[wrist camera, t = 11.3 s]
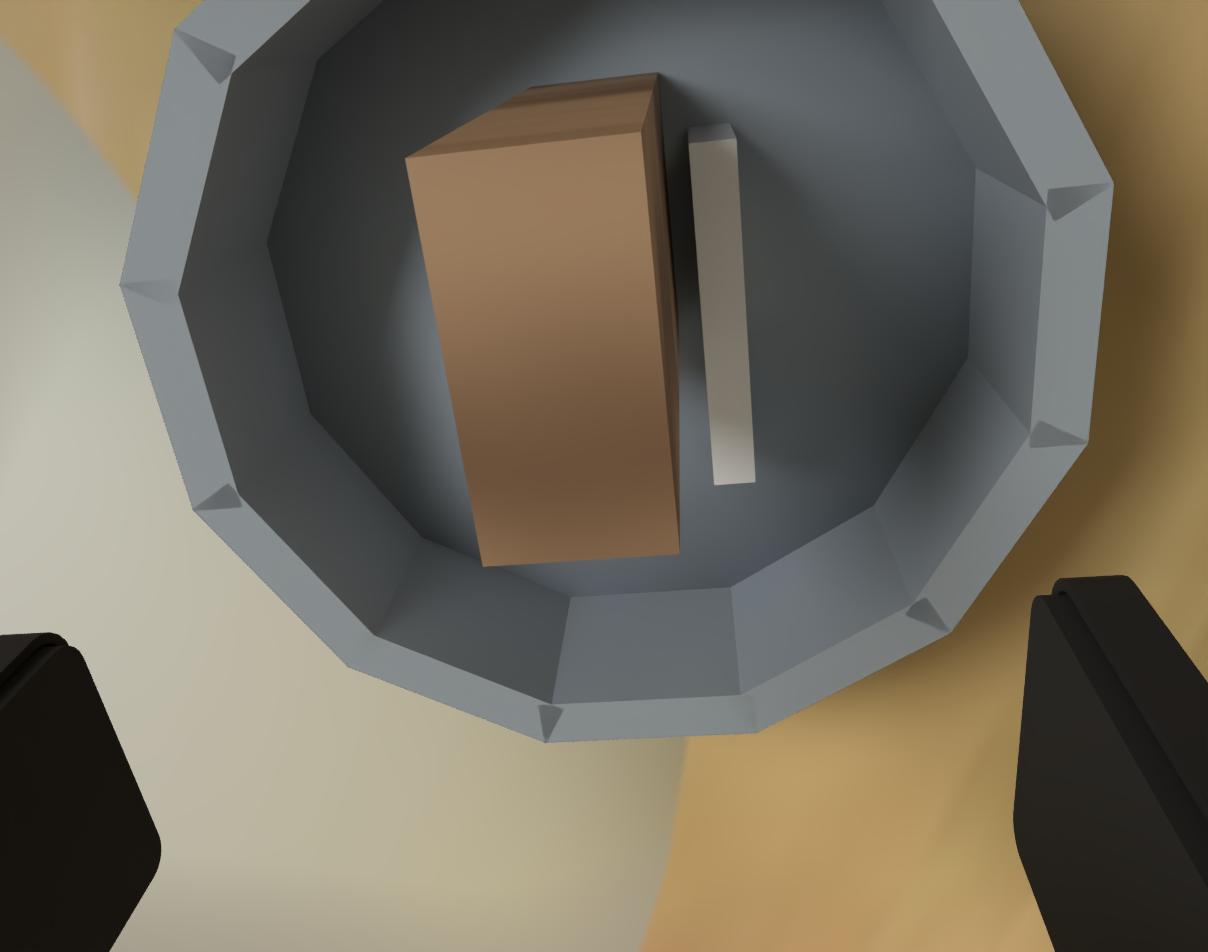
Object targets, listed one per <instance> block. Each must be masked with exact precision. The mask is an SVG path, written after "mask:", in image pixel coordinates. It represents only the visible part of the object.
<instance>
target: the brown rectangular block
mask: <svg viewBox="0 0 1208 952" xmlns="http://www.w3.org/2000/svg"><path fill="white" fill-rule="evenodd" d="M405 161H406V166H407V172H408V177H409V182H410V187H411V193H412V198H413V203H414V208H415V214H416V219H417V224H418V229H419V235H420V240H421V245H422V250H423V256H424V261H425V266H426V271H427V277H428V282H429V287H430V292H431V298H432V303H433V308H434V313H435V319H436V324H437V329H438V334H439V340H440V345H441V350H442V355H443V361H444V366H445V371H446V376H447V382H448V387H449V392H450V397H451V403H452V408H453V413H454V418H455V424H456V429H457V434H458V439H459V445H460V450H461V455H462V460H463V466H464V471H465V476H466V481H467V487H468V492H469V497H470V502H471V508H472V513H473V518H474V523H475V529H476V534H477V539H478V544H479V550H480V555H481V560H482V565H483V567H489V566H504V565H519V564H535V563H550V562H565V561H581V560H596V559H612V558H627V557H642V556H658V555H673V554H680V442H679V317H678V305H677V293H676V281H675V269H674V257H673V245H672V233H671V221H670V209H669V197H668V185H667V173H666V161H665V150H664V138H663V126H662V114H661V102H660V90H659V78H658V72H653V73H644V74H636V75H628V76H619V77H611V78H602V79H594V80H585V81H577V82H568V83H560V84H551V85H543V86H534V87H530V88H528V89H526V90H525V91H523V92H521V93H519V94H518V95H516V96H514V97H512V98H511V99H509V100H507V101H505V102H503V103H502V104H500V105H498V106H496V107H495V108H493V109H491V110H489V111H488V112H486V113H484V114H482V115H481V116H479V117H477V118H475V119H473V120H472V121H470V122H468V123H466V124H465V125H463V126H461V127H459V128H458V129H456V130H454V131H452V132H451V133H449V134H447V135H445V136H443V137H442V138H440V139H438V140H436V141H435V142H433V143H431V144H429V145H428V146H426V147H424V148H422V149H421V150H419V151H417V152H415V153H414V154H412V155H410V156H408V157H406V158H405Z"/></svg>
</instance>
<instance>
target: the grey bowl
mask: <svg viewBox="0 0 1208 952" xmlns="http://www.w3.org/2000/svg"><path fill="white" fill-rule="evenodd" d="M653 72H658V78H659V90H660V102H661V114H662V126H663V138H664V150H665V161H666V173H667V185H668V197H669V209H670V221H671V233H672V245H673V257H674V269H675V281H676V293H677V305H678V317H679V442H680V554H673V555H658V556H642V557H627V558H612V559H596V560H581V561H565V562H550V563H535V564H519V565H504V566H489V567H483V565H482V560H481V555H480V550H479V544H478V539H477V534H476V529H475V523H474V518H473V513H472V508H471V502H470V497H469V492H468V487H467V481H466V476H465V471H464V466H463V460H462V455H461V450H460V445H459V439H458V434H457V429H456V424H455V418H454V413H453V408H452V403H451V397H450V392H449V387H448V382H447V376H446V371H445V366H444V361H443V355H442V350H441V345H440V340H439V334H438V329H437V324H436V319H435V313H434V308H433V303H432V298H431V292H430V287H429V282H428V277H427V271H426V266H425V261H424V256H423V250H422V245H421V240H420V235H419V229H418V224H417V219H416V214H415V208H414V203H413V198H412V193H411V187H410V182H409V177H408V172H407V166H406V161H405V158H406V157H408V156H410V155H412V154H414V153H415V152H417V151H419V150H421V149H422V148H424V147H426V146H428V145H429V144H431V143H433V142H435V141H436V140H438V139H440V138H442V137H443V136H445V135H447V134H449V133H451V132H452V131H454V130H456V129H458V128H459V127H461V126H463V125H465V124H466V123H468V122H470V121H472V120H473V119H475V118H477V117H479V116H481V115H482V114H484V113H486V112H488V111H489V110H491V109H493V108H495V107H496V106H498V105H500V104H502V103H503V102H505V101H507V100H509V99H511V98H512V97H514V96H516V95H518V94H519V93H521V92H523V91H525V90H526V89H528V88H530V87H534V86H543V85H551V84H560V83H568V82H577V81H585V80H594V79H602V78H611V77H619V76H628V75H636V74H644V73H653ZM1113 189H1114V182H1113V180H1112V178H1111V177H1110V175H1109V173H1108V171H1107V169H1106V167H1105V165H1104V163H1103V161H1102V159H1101V157H1100V155H1099V154H1098V152H1097V150H1096V148H1095V146H1094V144H1093V142H1092V140H1091V138H1090V136H1089V134H1088V132H1087V131H1086V129H1085V127H1084V125H1083V123H1082V121H1081V119H1080V117H1079V115H1078V113H1077V111H1076V109H1075V108H1074V106H1073V104H1072V102H1071V100H1070V98H1069V96H1068V94H1067V92H1066V90H1065V88H1064V86H1063V85H1062V83H1061V81H1060V79H1059V77H1058V75H1057V73H1056V71H1055V69H1054V67H1053V65H1052V64H1051V62H1050V60H1049V58H1048V56H1047V54H1046V52H1045V50H1044V48H1043V46H1042V44H1041V42H1040V41H1039V39H1038V37H1037V35H1036V33H1035V31H1034V29H1033V27H1032V25H1031V23H1030V21H1029V19H1028V18H1027V16H1026V14H1025V12H1024V10H1023V8H1022V6H1021V4H1020V2H1019V0H204V1H203V2H202V3H201V4H200V5H199V6H198V7H197V8H196V9H195V10H194V11H192V12H191V13H190V14H189V15H188V16H187V17H186V18H185V19H184V20H183V21H182V22H181V23H180V24H179V25H178V26H177V27H176V28H175V29H174V34H173V38H172V43H171V48H170V52H169V57H168V62H167V66H166V71H165V76H164V80H163V85H162V90H161V94H160V99H159V104H158V108H157V113H156V118H155V122H154V127H153V132H152V136H151V141H150V146H149V150H148V155H147V160H146V164H145V169H144V174H143V178H142V183H141V188H140V192H139V197H138V202H137V206H136V211H135V216H134V220H133V225H132V230H131V234H130V239H129V244H128V249H127V253H126V258H125V263H124V267H123V272H122V276H121V281H120V287H121V291H122V293H123V297H124V300H125V302H126V306H127V309H128V312H129V315H130V318H131V321H132V324H133V327H134V330H135V334H136V337H137V340H138V343H139V346H140V349H141V352H142V355H143V358H144V361H145V364H146V367H147V370H148V373H149V377H150V380H151V383H152V386H153V389H154V391H155V395H156V398H157V401H158V404H159V407H160V410H161V413H162V416H163V419H164V422H165V425H166V428H167V432H168V435H169V438H170V441H171V444H172V447H173V450H174V453H175V456H176V459H177V462H178V465H179V468H180V471H181V475H182V478H183V481H184V484H185V487H186V490H187V493H188V496H189V499H190V502H191V505H192V508H193V511H194V512H195V513H196V514H197V515H198V516H199V517H200V518H201V519H202V520H203V521H204V522H205V523H206V524H207V525H208V526H209V527H210V528H211V529H212V530H213V531H214V532H215V533H216V534H217V535H218V536H219V537H220V538H221V539H222V540H223V541H224V542H225V543H226V544H227V545H228V546H229V547H230V548H231V549H232V550H233V551H234V552H235V553H236V554H237V555H238V556H239V557H240V558H241V559H242V560H243V561H244V562H245V563H246V564H247V565H248V566H249V567H250V568H251V569H252V570H253V571H254V572H255V573H256V574H257V575H258V576H259V577H260V579H261V580H262V581H264V583H266V584H267V586H268V587H269V588H270V589H271V590H272V591H273V592H274V593H275V594H276V595H277V596H278V597H279V598H280V599H281V600H282V601H283V602H284V603H285V604H286V605H287V606H288V607H289V608H290V609H291V610H292V611H293V612H294V613H295V614H296V615H297V616H298V617H299V618H300V619H301V620H302V621H303V622H304V623H305V624H306V625H307V626H308V627H309V628H310V629H311V630H312V631H313V632H314V633H315V634H316V635H317V636H318V637H319V638H320V639H321V640H322V641H323V642H324V643H325V644H326V645H327V646H328V647H329V648H330V649H331V650H332V651H333V652H334V653H335V654H336V655H337V656H338V657H339V658H340V659H341V660H342V662H343V663H345V665H347V667H349V668H352V669H354V670H357V671H360V672H362V673H365V674H368V675H370V676H373V677H375V678H378V679H381V680H383V681H386V682H389V683H391V684H394V685H396V686H399V687H402V688H404V689H407V690H409V691H412V692H414V693H417V694H420V695H422V696H425V697H427V698H430V699H433V700H435V701H438V702H441V703H443V704H446V705H448V706H451V707H454V708H456V709H459V710H461V711H464V712H467V713H469V714H472V715H475V716H477V717H480V718H482V719H485V720H487V721H490V722H493V723H495V724H498V725H501V726H503V727H506V728H508V729H511V730H513V731H516V732H519V733H521V734H524V735H526V736H529V737H532V738H534V739H537V740H539V741H542V742H545V743H553V742H575V741H596V740H618V739H637V738H638V739H639V738H662V737H683V736H705V735H727V734H748V733H758V732H759V731H761V730H763V729H765V728H767V727H769V726H771V725H773V724H775V723H777V722H779V721H781V720H783V719H785V718H787V717H789V716H791V715H793V714H794V713H796V712H798V711H800V710H802V709H804V708H806V707H808V706H810V705H812V704H814V703H816V702H818V701H820V700H822V699H824V698H826V697H828V696H830V695H831V694H833V693H835V692H837V691H839V690H841V689H843V688H845V687H847V686H849V685H851V684H853V683H855V682H857V681H859V680H861V679H863V678H865V677H866V676H868V675H870V674H872V673H874V672H876V671H878V670H880V669H882V668H884V667H886V666H888V665H890V664H892V663H894V662H896V661H898V660H900V659H902V658H903V657H905V656H907V655H909V654H911V653H913V652H915V651H917V650H919V649H921V648H923V647H925V646H927V645H929V644H931V643H933V642H935V641H937V640H938V639H940V638H942V637H944V636H946V635H948V634H950V633H951V632H952V631H953V629H954V628H955V626H956V625H957V624H958V622H959V621H960V620H961V618H962V617H963V615H964V614H965V613H966V611H967V610H968V608H969V607H970V606H971V604H972V603H973V602H974V600H975V599H976V597H977V596H978V595H979V593H980V592H981V590H982V589H983V588H984V586H985V585H986V584H987V582H988V581H989V579H990V578H991V577H992V575H993V574H994V573H995V571H996V570H997V568H998V567H999V566H1000V564H1001V563H1002V561H1003V560H1004V559H1005V557H1006V556H1007V555H1008V553H1009V552H1010V550H1011V549H1012V548H1013V546H1014V545H1015V543H1016V542H1017V541H1018V539H1019V538H1020V537H1021V535H1022V534H1023V532H1024V531H1025V530H1026V528H1027V527H1028V526H1029V524H1030V523H1031V521H1032V520H1033V519H1034V517H1035V516H1036V514H1037V513H1038V512H1039V510H1040V509H1041V508H1042V506H1043V505H1044V503H1045V502H1046V501H1047V499H1048V498H1049V496H1050V495H1051V494H1052V492H1053V491H1054V490H1055V488H1056V487H1057V485H1058V484H1059V483H1060V481H1061V480H1062V479H1063V477H1064V476H1065V474H1066V473H1067V472H1068V470H1069V469H1070V467H1071V466H1072V465H1073V463H1074V462H1075V461H1076V459H1077V458H1078V456H1079V455H1080V454H1081V452H1082V451H1083V450H1084V448H1085V447H1086V445H1087V444H1088V443H1089V442H1088V440H1089V430H1090V420H1091V410H1092V400H1093V390H1094V379H1095V369H1096V359H1097V349H1098V339H1099V329H1100V319H1101V309H1102V299H1103V289H1104V279H1105V269H1106V259H1107V249H1108V239H1109V229H1110V219H1111V209H1112V199H1113Z"/></svg>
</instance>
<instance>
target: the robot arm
mask: <svg viewBox="0 0 1208 952" xmlns="http://www.w3.org/2000/svg"><path fill="white" fill-rule="evenodd" d="M1013 823H1014V833H1015V840H1016V845H1017V849H1018V852H1019V856H1020V859H1021V862H1022V864H1023V867H1024V870H1025V872H1026V875H1027V878H1028V880H1029V883H1030V886H1031V888H1032V891H1033V894H1034V896H1035V899H1036V902H1037V904H1038V907H1039V910H1040V912H1041V915H1042V918H1043V920H1044V923H1045V926H1046V928H1047V931H1048V934H1049V936H1050V939H1051V942H1052V944H1053V947H1054V950H1055V952H1208V682H1207V681H1206V680H1205V678H1204V677H1203V675H1202V674H1201V673H1200V671H1199V670H1198V669H1197V667H1196V666H1195V665H1194V663H1193V662H1192V660H1191V659H1190V658H1189V656H1188V655H1187V654H1186V652H1185V651H1184V650H1183V648H1182V647H1181V645H1180V644H1179V643H1178V641H1177V640H1176V639H1175V637H1174V636H1173V635H1172V633H1171V632H1170V630H1169V629H1168V628H1167V626H1166V625H1165V624H1164V622H1163V621H1162V620H1161V618H1160V617H1159V615H1158V614H1157V613H1156V611H1155V610H1154V609H1153V607H1152V606H1151V605H1150V603H1149V602H1148V600H1147V599H1146V598H1145V596H1144V595H1143V594H1142V592H1141V591H1140V590H1139V588H1138V587H1137V585H1136V584H1135V583H1134V582H1133V581H1132V580H1131V579H1130V578H1129V577H1128V576H1124V575H1114V576H1096V577H1077V578H1060V579H1059V580H1057V581H1056V582H1055V584H1054V587H1053V589H1052V595H1040V596H1036V597H1035V598H1034V600H1033V603H1032V608H1031V617H1030V629H1029V640H1028V652H1027V663H1026V675H1025V686H1024V697H1023V709H1022V720H1021V732H1020V743H1019V755H1018V766H1017V778H1016V789H1015V800H1014V812H1013ZM160 858H161V841H160V837H159V834H158V832H157V830H156V827H155V825H154V822H153V820H152V818H151V815H150V813H149V810H148V808H147V806H146V803H145V801H144V799H143V796H142V794H141V792H140V789H139V787H138V784H137V782H136V780H135V777H134V775H133V773H132V771H131V768H130V766H129V763H128V761H127V759H126V756H125V754H124V751H123V749H122V747H121V744H120V742H119V740H118V738H117V735H116V733H115V730H114V728H113V726H112V723H111V721H110V719H109V716H108V714H107V712H106V709H105V707H104V704H103V702H102V700H101V697H100V695H99V693H98V691H97V688H96V686H95V683H94V681H93V679H92V676H91V674H90V671H89V669H88V667H87V664H86V662H85V660H84V658H83V656H82V654H81V653H80V651H79V650H77V649H76V648H75V647H72V646H69V645H68V643H67V642H66V640H65V639H63V638H62V637H61V636H60V635H58V634H54V633H31V634H12V635H0V952H109V951H110V949H111V948H112V946H113V944H114V943H115V941H116V939H117V938H118V936H119V934H120V933H121V931H122V929H123V928H124V926H125V924H126V923H127V921H128V919H129V918H130V916H131V914H132V913H133V911H134V909H135V908H136V906H137V904H138V903H139V901H140V899H141V898H142V896H143V894H144V893H145V891H146V889H147V888H148V886H149V884H150V883H151V881H152V879H153V877H154V876H155V874H156V872H157V869H158V866H159V862H160Z"/></svg>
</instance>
